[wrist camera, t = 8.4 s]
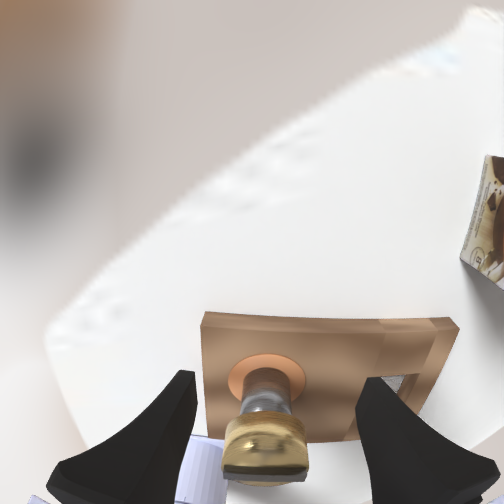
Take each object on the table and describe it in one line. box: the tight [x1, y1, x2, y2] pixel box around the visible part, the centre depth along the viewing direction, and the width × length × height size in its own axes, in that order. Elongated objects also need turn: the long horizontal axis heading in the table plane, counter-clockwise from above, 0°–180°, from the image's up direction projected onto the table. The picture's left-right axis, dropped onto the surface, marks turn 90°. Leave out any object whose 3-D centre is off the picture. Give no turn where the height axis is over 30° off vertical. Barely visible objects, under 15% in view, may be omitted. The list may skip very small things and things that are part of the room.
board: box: [200, 311, 460, 443], centre depth 23 cm, size 14×21×2 cm, turn 87°
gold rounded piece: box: [221, 367, 309, 486], centre depth 17 cm, size 5×5×9 cm
